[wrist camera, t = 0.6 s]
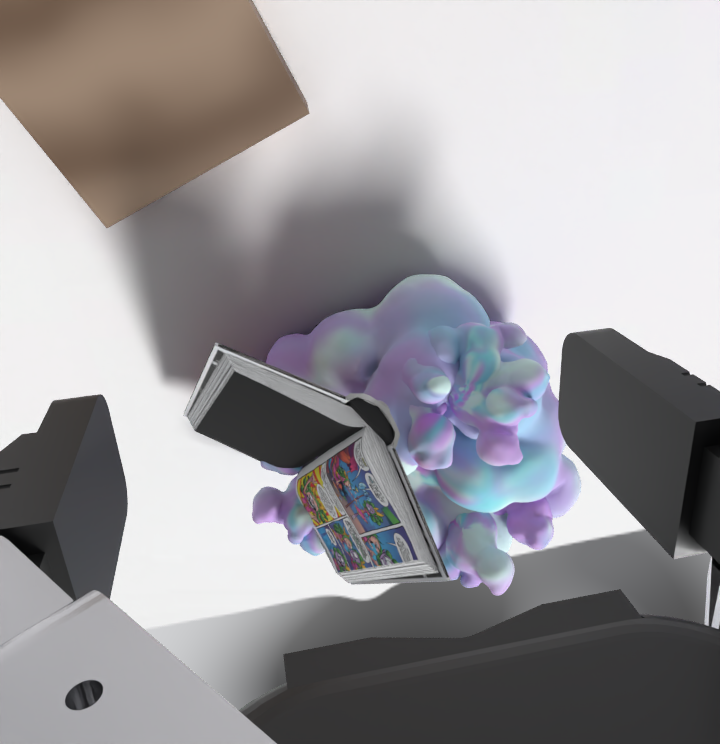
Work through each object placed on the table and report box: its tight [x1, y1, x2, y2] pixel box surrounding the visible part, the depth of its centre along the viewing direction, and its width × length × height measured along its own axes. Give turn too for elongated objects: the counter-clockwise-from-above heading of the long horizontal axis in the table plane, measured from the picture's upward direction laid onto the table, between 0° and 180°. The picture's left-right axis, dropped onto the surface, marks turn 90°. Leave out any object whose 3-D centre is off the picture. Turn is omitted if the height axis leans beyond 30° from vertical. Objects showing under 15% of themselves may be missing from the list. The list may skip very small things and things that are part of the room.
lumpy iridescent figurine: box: [183, 274, 581, 595], centre depth 40 cm, size 20×22×18 cm
